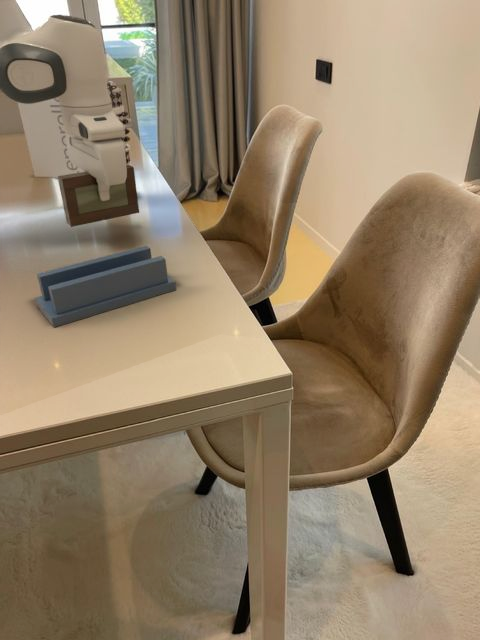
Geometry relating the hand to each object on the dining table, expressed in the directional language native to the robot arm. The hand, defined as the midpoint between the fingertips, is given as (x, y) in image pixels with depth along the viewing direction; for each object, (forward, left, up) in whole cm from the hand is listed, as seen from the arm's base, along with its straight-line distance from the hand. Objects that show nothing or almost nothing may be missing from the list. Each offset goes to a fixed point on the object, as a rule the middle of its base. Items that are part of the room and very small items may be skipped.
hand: (100, 197), depth 107 cm
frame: (0, 0, -4) cm, 4 cm away
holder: (-11, -26, -8) cm, 29 cm away
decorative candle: (+10, +18, -8) cm, 22 cm away
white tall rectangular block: (+7, +45, -8) cm, 46 cm away
